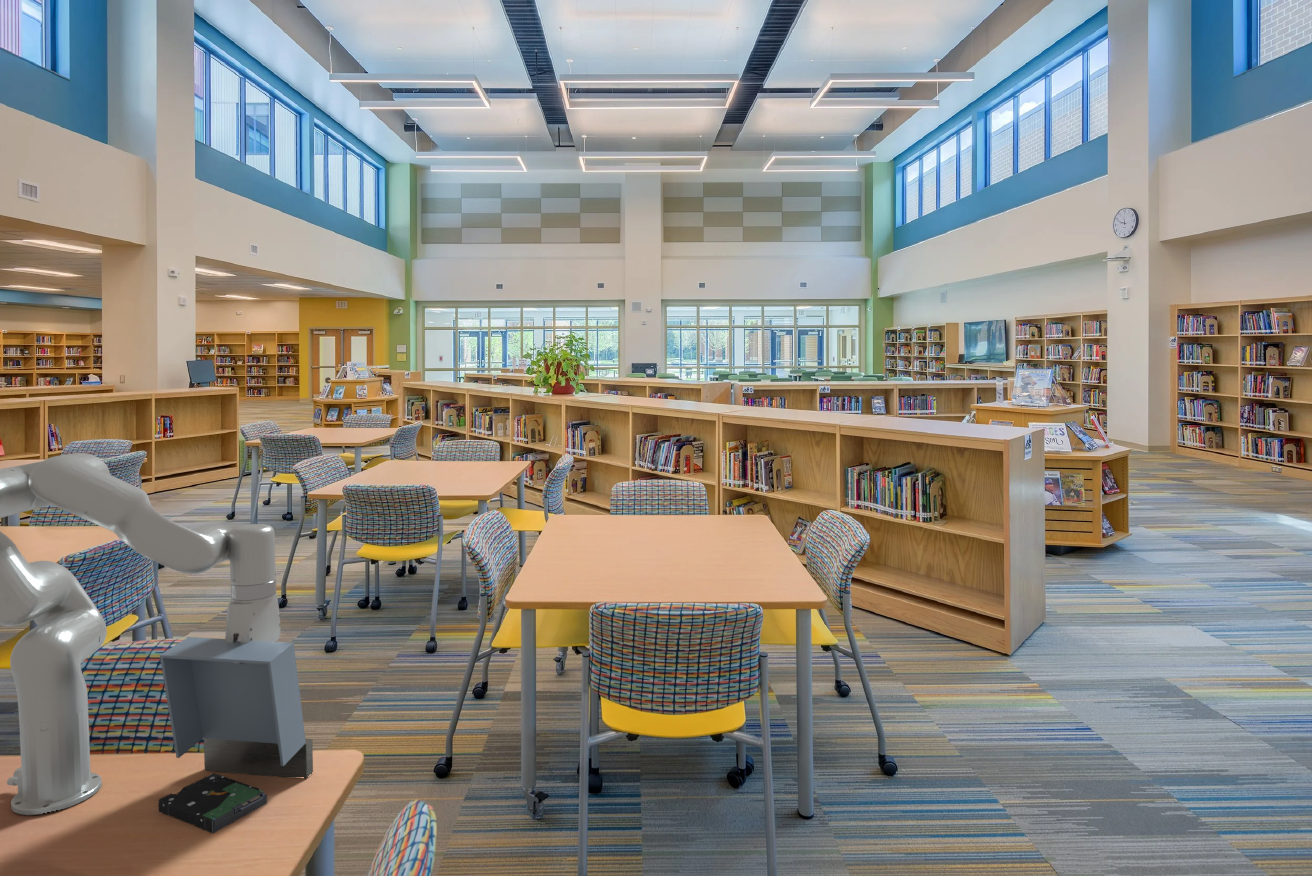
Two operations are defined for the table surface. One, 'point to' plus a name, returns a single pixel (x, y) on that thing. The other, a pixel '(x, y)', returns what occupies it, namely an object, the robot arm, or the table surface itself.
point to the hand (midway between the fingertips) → (256, 685)
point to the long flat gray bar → (256, 758)
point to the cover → (233, 693)
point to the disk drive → (213, 802)
